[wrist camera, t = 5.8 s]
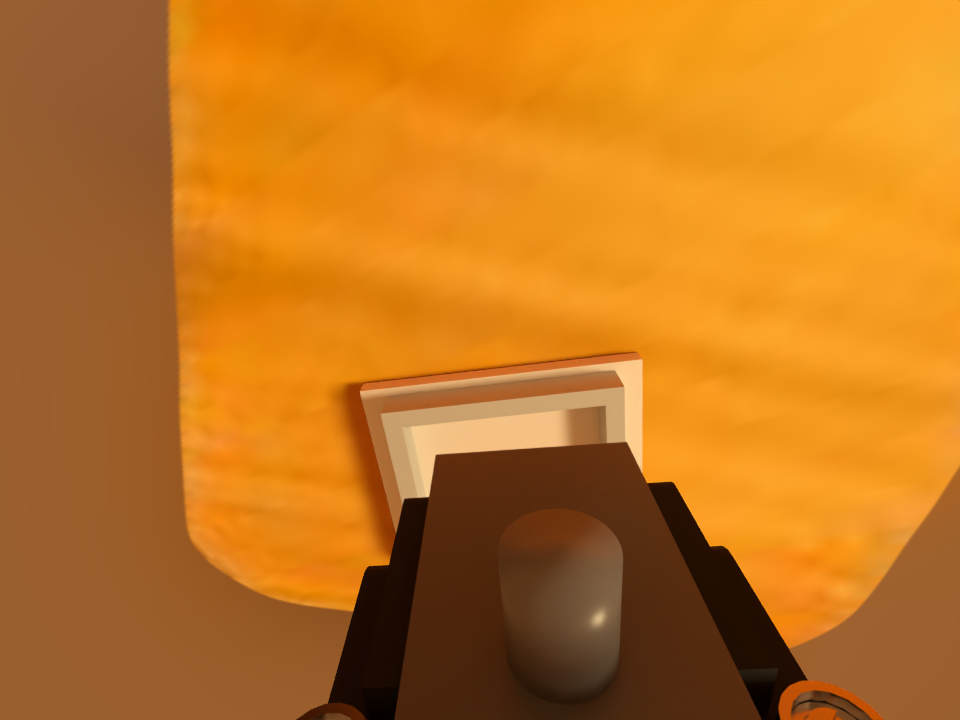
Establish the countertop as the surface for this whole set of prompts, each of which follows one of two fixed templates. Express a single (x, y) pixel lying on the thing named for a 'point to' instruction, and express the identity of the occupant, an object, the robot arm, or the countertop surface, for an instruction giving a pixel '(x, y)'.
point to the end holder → (499, 415)
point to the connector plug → (558, 598)
